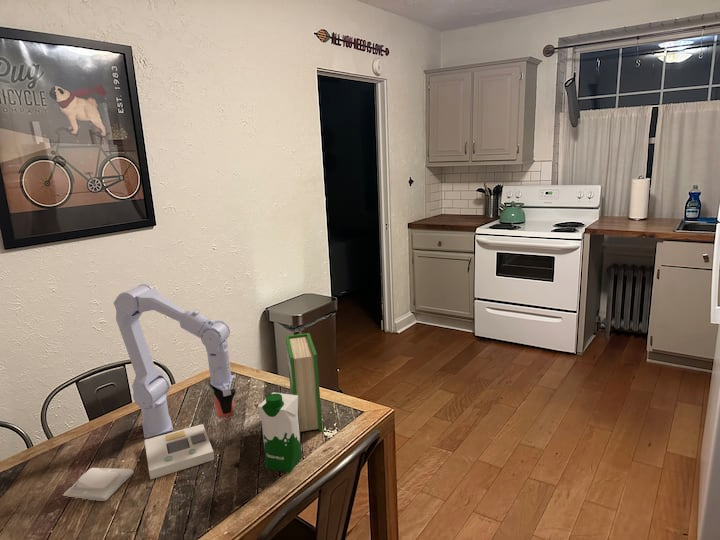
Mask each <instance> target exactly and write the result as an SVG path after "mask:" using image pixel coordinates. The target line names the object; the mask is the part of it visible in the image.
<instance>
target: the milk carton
mask: <svg viewBox="0 0 720 540" xmlns="http://www.w3.org/2000/svg"><path fill="white" fill-rule="evenodd" d="M257 410H258V412H259V415H260V420H261V428H262V437H263V447H264V459H265V460H264V461H265V469H267V470H272V471H278V472H281V473H282V472H284V473H289V474H291V473H292V471H293V470H294V468H295V467H296V465H298V463H299V461H300V460H301V459H302V457H303V454H302V447H301V437H300V436H301V434H300V435H299V423H298V395H291V393H281V392H271V393H270V394H268V395H267V396H266V397H265V398H264V400H263V401H262V402H261V403H260V404H258V406H257Z"/></svg>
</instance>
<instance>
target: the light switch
mask: <svg viewBox="0 0 720 540" xmlns="http://www.w3.org/2000/svg"><path fill="white" fill-rule="evenodd" d="M134 473H135V472H134V470H133V469H131V468H109V467H106V468H105V467H91V468H89V469H88V470H87V471H85V472H84V473H83V474H82V475H81V476H80V477H78V479H77V481H75V483H74V484H73V485H71V486H72V487H71V486H70V487H69V488H68V489H67V490H66V491H65V492H63V493H64V494H63V493H62V494H63V495H64V496H68V497H75V498H74V499H77V498H82V499H81V500H86V499H88V501H95V500H96V501H98V502H99V501H100V502H106V501H107V500H108V499H109V498H111V496H113V494H114V493H115V492H116V491H117V490H118V489H120V488H121V486H122V485H124V483H125V482H126V481H127V480H128V479H129V478H130V477H131V476H132V475H133V474H134ZM68 497H67V498H68Z"/></svg>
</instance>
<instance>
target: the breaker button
mask: <svg viewBox="0 0 720 540" xmlns="http://www.w3.org/2000/svg"><path fill="white" fill-rule="evenodd" d="M167 445H168V454H170V453H173V452H177V451H180V450H184V449H187V448H189V446H188V443H187V439H184V440H180V441H176V442H173V443H169V444H167Z"/></svg>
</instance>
